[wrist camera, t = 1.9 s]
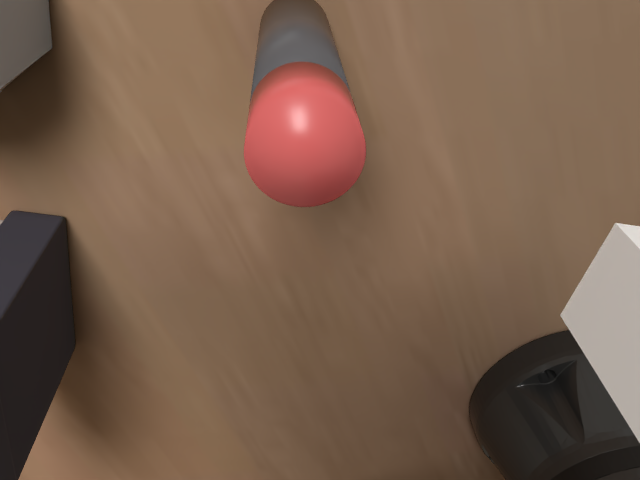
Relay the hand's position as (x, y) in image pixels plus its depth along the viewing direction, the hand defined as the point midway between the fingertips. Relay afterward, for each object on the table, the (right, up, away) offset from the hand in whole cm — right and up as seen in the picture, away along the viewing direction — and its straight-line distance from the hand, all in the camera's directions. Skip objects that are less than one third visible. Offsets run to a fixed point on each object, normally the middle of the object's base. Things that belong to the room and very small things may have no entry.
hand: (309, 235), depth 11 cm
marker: (-1, +10, +15) cm, 18 cm away
